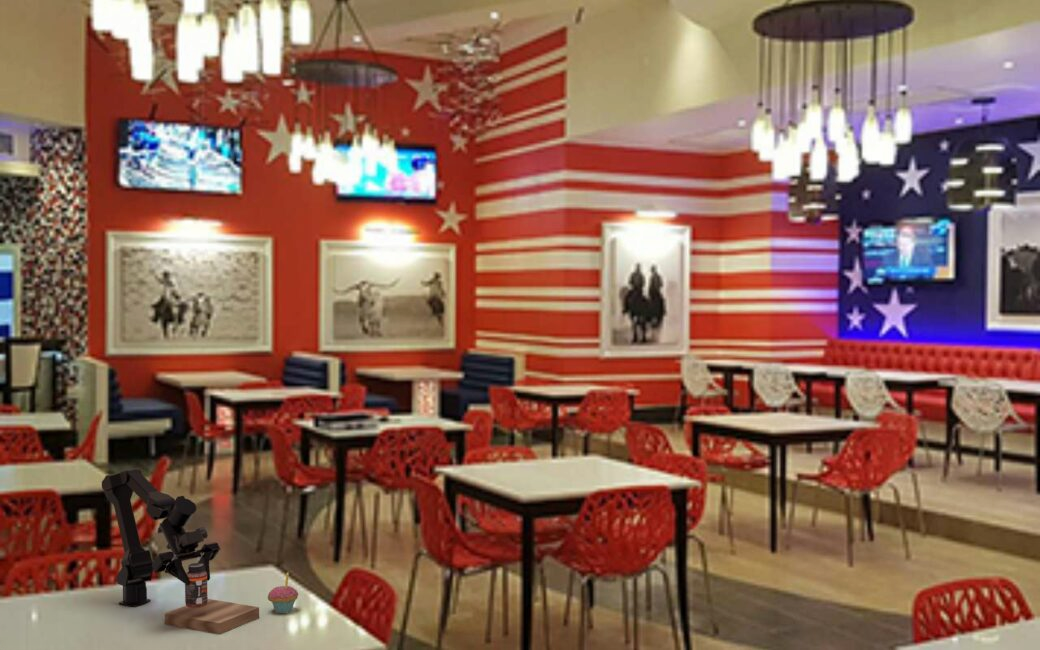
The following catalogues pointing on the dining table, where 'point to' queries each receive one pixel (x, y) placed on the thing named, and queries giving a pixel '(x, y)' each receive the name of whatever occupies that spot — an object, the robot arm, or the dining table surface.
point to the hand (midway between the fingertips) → (199, 582)
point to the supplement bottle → (196, 586)
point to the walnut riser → (212, 616)
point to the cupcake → (283, 597)
